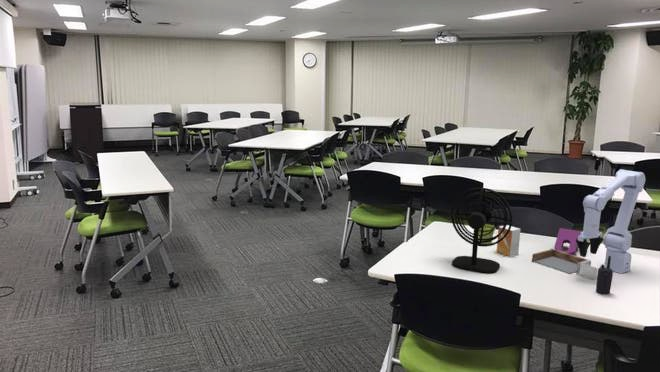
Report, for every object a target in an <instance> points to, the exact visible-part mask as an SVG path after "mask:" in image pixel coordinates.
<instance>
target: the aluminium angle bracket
mask: <svg viewBox="0 0 660 372" xmlns="http://www.w3.org/2000/svg"><path fill="white" fill-rule="evenodd" d="M598 269H599V267H595V266H592V260H590V259H588V260H586V261H583V262H579V263H578V264H577V272H575V273H576V275H578V276H581V277H584V278H587V279H591V280H593V281H595V280H596V281H597V275H598Z"/></svg>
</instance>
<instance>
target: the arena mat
mask: <svg viewBox="0 0 660 372" xmlns="http://www.w3.org/2000/svg"><path fill="white" fill-rule="evenodd" d="M532 263H536V264H538V265H541V266H545V267H548V268H551V269H554V270H557V271H559V272H563V273H566V274H569V275H571V274H575V273H577V264H576V263H572V262H569V261H566V260H563V259H560V258H557V257H553V256H552V257H548V258H544V259H541V260H537V261H533V262H532Z"/></svg>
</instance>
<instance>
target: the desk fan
mask: <svg viewBox="0 0 660 372" xmlns="http://www.w3.org/2000/svg"><path fill="white" fill-rule="evenodd" d="M473 191H477V192H473ZM469 192H473V193H470V194H468V195H467V196H465V197H464V198H462V197H463V196H464V195H465V194H467V193H469ZM474 196H479V198H478V199H475V200H473V201H471V203H470V204H467V206H465V207H464V209H463V210H462V212H460V211H461V207H462V205H463V203H464V202H465V201H466V200H467V199H468V198H471V197H474ZM460 198H462V199H461V200H460ZM487 198H489V199H487ZM459 200H460V202H459ZM492 200H493V201H492ZM482 201H483V202H482ZM487 201H488V202H490V203H492V205H494V206H495V207H496V209H497V211H498V216H497V215H496V212H495V210H494V209H493V208H492V206H490V205H489V204H488V203H486V202H487ZM458 202H459V203H458ZM495 202H496V203H495ZM457 203H458V204H457ZM474 204H478V205H477V209H476V212H473V213H472V212H468V211H469V208H470V206H472V205H474ZM497 204H498V206H499V207H498V206H497ZM456 205H457V206H456ZM481 205H483V206H481ZM505 205H506V206H505ZM506 207H507V208H506ZM455 208H456V209H455ZM499 208H500V209H501V210H500V209H499ZM465 210H466V211H465ZM501 211H502V214H503V217H501ZM450 213H451V214H450V217H451V223H452V226H453V228H454V230H455V232H456V233H457V235H458V236H459V237H460V238H461V239H462V240H463V241H465V242H466V243H468V244H470V245H472V249H471V250H472V252H471V253H472V254H471V255H458V256H456V257H455V258H454V259H453V260H451V265H452V266H454V267H456V268H458V269H459V268H460V269H464V270H469V271H473V272H480V273H488V274H489V273H491V274H492V273H496V272H497V271H499V268H500V267H501V264H500V263H499V262H497V261H496V260H493V259H490V258H488V259H487V258H484V257H483V258H482V257H478V248H479V247H492V246H495V245H497V243H499V242H500V241H502V240H503V239H504V238H505V237H506V236H507V234H508V233H509V231H510V229H511V226H512V225H514V220H513V212H512V208H511V206H510V204H509V203H508V201H507V200H506V199H505V198H504V197H503V196H502V195H501V194H500V193H498V192H497V191H495V190H493V189H490V188H485V187H474V188H471V189H467V190H465V191H464V192H463V193H461V194H459V196H458V197H457V198H456V199H455V201H454V203H453V205H452V207H451V212H450ZM508 213H509V214H508ZM464 216H465V217H464ZM468 216H469V217H468ZM492 219H495V220H494V221H491V220H492ZM501 220H502V222H501ZM464 221H467V224H468V226H469V228H471V229H473V232H471V231H470V230H468V228H467V227H466V226H465V224H464ZM487 224H488V225H491V224H493V226H494V228H493V229H491V230H492V231H493V230H494V229H495V228H496V229H497V227H499V225H502V226H503V228H502V230H501V232H500V233H499V234H498V233H497V234H496V235H493V237H492V238H487V239H482V237H483V236H486V235H488V234H490V233H491V232H492V231H491V230H487V231H483V230H484V225H487ZM506 225H509V228H508V231H507V232H506V234H505V235H504V236H503V237H502V238H501V239H500V240H498V237H499V236H500V235H501V233H502V232H503V231H504V230H505V228H506ZM512 227H513V226H512ZM479 229H481V230H479ZM496 229H495V230H496ZM479 231H480V232H481V235H479ZM488 231H490V232H489V233H487V234H485V235H483V232H488ZM479 236H480V238H479ZM496 239H497V240H496ZM494 240H496V241H495V242H493V241H494ZM490 241H492V243H491V244H481V243H486V242H490Z"/></svg>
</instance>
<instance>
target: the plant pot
mask: <svg viewBox="0 0 660 372" xmlns="http://www.w3.org/2000/svg"><path fill="white" fill-rule="evenodd" d="M494 226H495V225H491V224H485V225H484V230H483V231H487V230H491V229H493V228H494ZM496 229H497V227H496V228H495V229H494V230H493V231H492V230H491V231H492V232H491V233H490V234H488V235H486V236H483V237H482V239H487V238H492V237H494V233H495V232H496V231H495V230H496ZM479 230H481V229H479ZM489 232H490V231H488V232H483V235H485V234H487V233H489ZM479 235H481V232H480V231H479ZM479 238H480V236H479ZM491 243H493V241H490V242H486V243H481V244H491Z"/></svg>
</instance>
